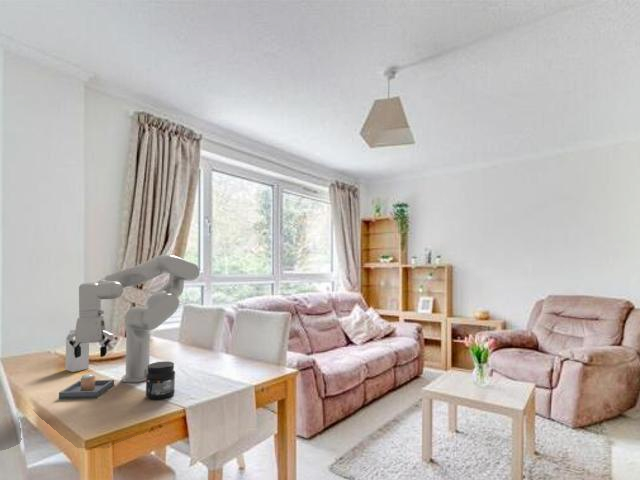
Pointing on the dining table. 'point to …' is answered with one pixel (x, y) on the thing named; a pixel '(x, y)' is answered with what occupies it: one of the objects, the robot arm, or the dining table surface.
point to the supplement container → (160, 380)
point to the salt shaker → (87, 382)
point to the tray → (75, 392)
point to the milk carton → (80, 362)
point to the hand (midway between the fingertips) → (90, 356)
